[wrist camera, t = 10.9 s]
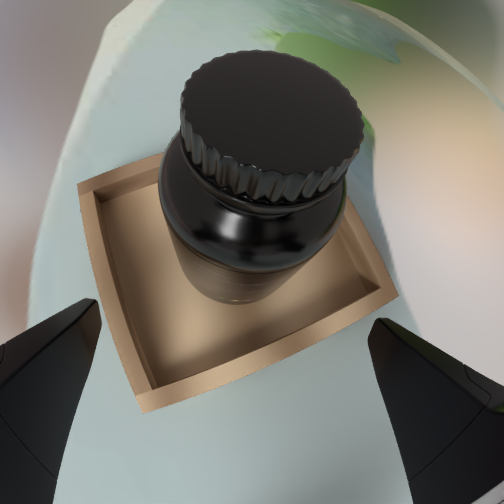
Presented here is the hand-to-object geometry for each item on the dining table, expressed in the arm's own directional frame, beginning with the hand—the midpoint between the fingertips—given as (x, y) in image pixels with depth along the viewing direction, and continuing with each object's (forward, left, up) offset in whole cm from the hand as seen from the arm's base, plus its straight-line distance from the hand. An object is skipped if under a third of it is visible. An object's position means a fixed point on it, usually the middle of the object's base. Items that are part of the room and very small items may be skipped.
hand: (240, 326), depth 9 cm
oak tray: (+2, +5, -9) cm, 10 cm away
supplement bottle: (+2, +5, -8) cm, 10 cm away
